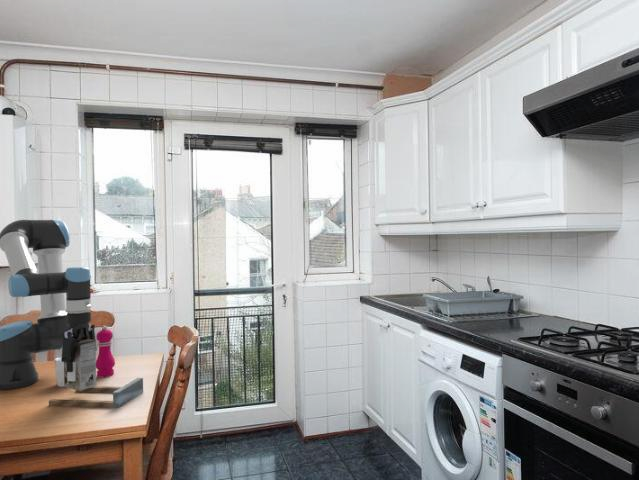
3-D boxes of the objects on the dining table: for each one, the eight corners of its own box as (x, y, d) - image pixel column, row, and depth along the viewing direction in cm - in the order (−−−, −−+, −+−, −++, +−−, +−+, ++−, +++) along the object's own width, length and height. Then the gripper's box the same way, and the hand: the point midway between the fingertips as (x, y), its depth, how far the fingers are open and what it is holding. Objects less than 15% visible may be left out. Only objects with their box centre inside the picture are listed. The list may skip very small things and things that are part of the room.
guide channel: (48, 405, 147) (48, 390, 147) (79, 390, 162) (78, 376, 162) (119, 407, 144) (118, 392, 144) (143, 391, 159) (142, 377, 159)
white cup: (68, 387, 165) (67, 361, 165) (50, 386, 167) (49, 360, 167) (83, 381, 173) (83, 355, 173) (66, 380, 175) (65, 354, 175)
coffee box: (63, 387, 153) (62, 340, 153) (80, 381, 159) (79, 337, 159) (79, 391, 149) (78, 343, 149) (97, 385, 155) (96, 339, 155)
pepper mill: (109, 377, 177) (108, 327, 177) (92, 377, 177) (91, 327, 177) (118, 371, 184) (117, 324, 184) (101, 372, 185) (100, 324, 184)
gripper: (68, 316, 143) (69, 387, 143) (106, 307, 164) (108, 368, 164) (47, 316, 144) (48, 386, 144) (88, 307, 165) (89, 368, 165)
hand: (80, 377), depth 154 cm, fingers closed on coffee box, 8 cm apart
